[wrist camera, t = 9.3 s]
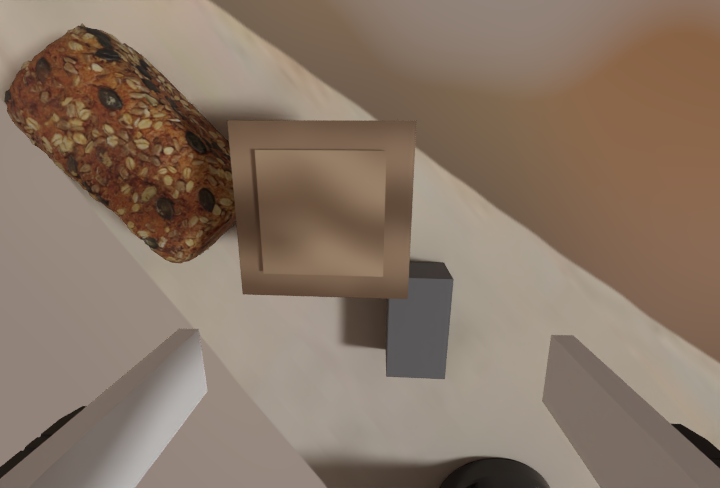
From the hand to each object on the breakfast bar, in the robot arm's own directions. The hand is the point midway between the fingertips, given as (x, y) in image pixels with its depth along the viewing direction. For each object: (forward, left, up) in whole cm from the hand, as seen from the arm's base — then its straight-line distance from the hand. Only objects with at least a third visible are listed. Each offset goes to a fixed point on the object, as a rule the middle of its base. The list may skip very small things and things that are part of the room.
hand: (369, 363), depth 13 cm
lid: (+4, +4, -14) cm, 15 cm away
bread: (+7, +21, -25) cm, 33 cm away
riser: (-9, -4, -24) cm, 26 cm away
